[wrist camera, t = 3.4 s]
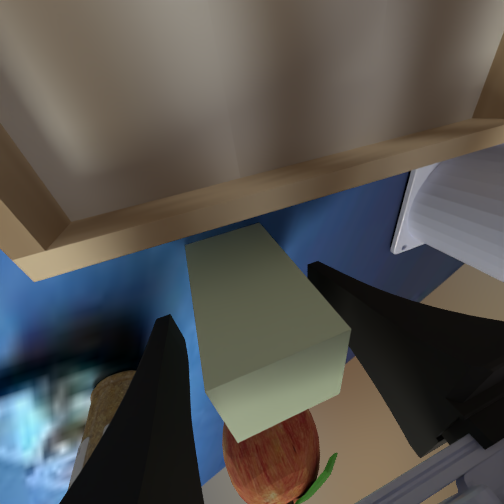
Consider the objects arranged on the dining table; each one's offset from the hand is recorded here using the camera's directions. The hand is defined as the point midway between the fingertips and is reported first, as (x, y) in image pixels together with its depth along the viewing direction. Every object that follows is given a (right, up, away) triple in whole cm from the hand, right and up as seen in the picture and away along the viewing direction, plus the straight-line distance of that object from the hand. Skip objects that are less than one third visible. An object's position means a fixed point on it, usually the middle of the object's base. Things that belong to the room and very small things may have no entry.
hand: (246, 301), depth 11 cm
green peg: (-1, +2, +3) cm, 4 cm away
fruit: (+1, -12, +13) cm, 17 cm away
